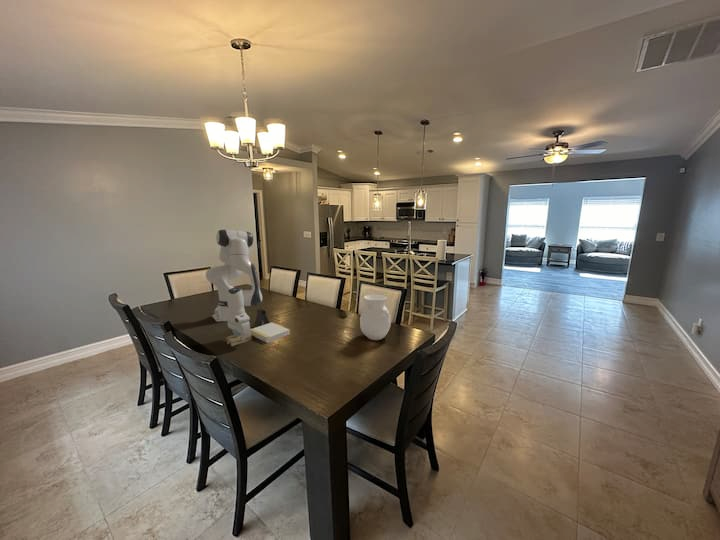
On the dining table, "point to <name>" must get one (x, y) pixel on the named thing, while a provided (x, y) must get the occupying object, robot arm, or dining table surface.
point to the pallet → (237, 339)
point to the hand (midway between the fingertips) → (239, 338)
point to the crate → (236, 333)
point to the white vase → (375, 317)
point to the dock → (269, 332)
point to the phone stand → (261, 318)
